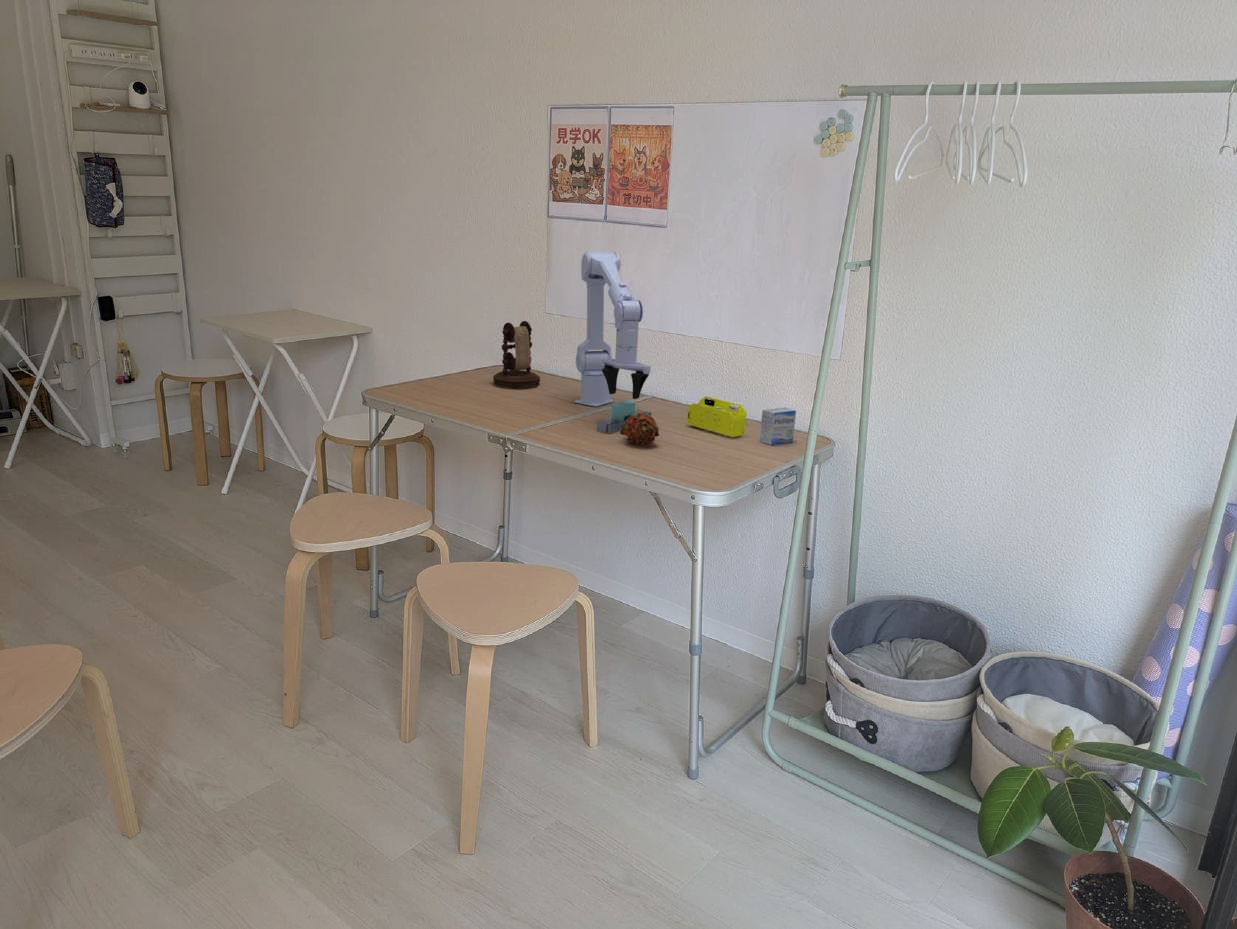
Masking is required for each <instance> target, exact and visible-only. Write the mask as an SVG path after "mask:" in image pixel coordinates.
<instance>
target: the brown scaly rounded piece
mask: <svg viewBox="0 0 1237 929" xmlns="http://www.w3.org/2000/svg"><path fill="white" fill-rule="evenodd" d="M624 425H625V428H623V429H620V431H619V434H620V436H621V435H623V436H626V437H627V441H628V442H629V443H630V444H634V445H635V444H637V445H640V446H647V445H648V444H650V443H651V444H652V443H654V441H655V440H656V438H657V437H659V436H660V432H659V431H660V430H659V426H658V425H657V422H656V420H655V418H653V417H652V416H651V417H650V415H648V414H644V413H638V414H637V415H636V416H635V417H633V416H632V417H629V418H628V419H627V420H626V422H625V424H624ZM624 425H622V426H624Z"/></svg>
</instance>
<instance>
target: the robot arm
mask: <svg viewBox="0 0 1237 929" xmlns="http://www.w3.org/2000/svg"><path fill="white" fill-rule="evenodd" d="M580 267H581V268H580V270H581V272H580V273H581V280H582V281H583V282H585V283H586V339H585V340H584V341H582V342H581V343H580V344H579V345H578V346H577V348H576V356H575V367H576V370H577V371H578V372H579V373H580V374H581V381H580V398H579V399H576V400H574V403H576V404H580V405H586V406H590V407H597V408H598V407H600V406H604V405H607V404H609V403H613V402H614V399H612V395H613V394H614V395H615V394H617V382H618V376H619V372H620V370H625V371H631V372H632V373H631V374H630V377H631V380H632V382H631V383H632V400H637V399H639V398H640V395H641V392H642V388H643V387H644V384H645V382H646V381H647V379H648V377H649V376H650V374H651V365H647V364H644V363H640V362H638V361H637V360H638V357H637V356H638V344H639V343H638V342H639V341H638V338H639V325H640V324H639V323H640V322H642V319H643V315H644V309H643V303H642V301H641V300H640V299H637V298H635V297H634V296H633V293H632V291H631V290H630V287H629V285H628V284H627V283H626V282H624V281H622V278H621V275H620V270H621V258H620V255H619V254H618V253H617V252H616V251H614V252H593V251H592V252H590V251H585V252H584V254H583V255H582V258H581V266H580ZM606 284H607V286H608V287H609V288H608V294H607V295H608V296H609V298H610V301H611V303H612V305H613V307H614V309H613V317H614V328H615V329H616V334H615V335H616V336H615V352H614V353H615V355H614V356H615V357H614V358H613V352H612V347H611V345H610V344H609V343H608V342H606V341H604V319H605V318H604V311H605V310H604V308H605V307H604V303H605V300H604V299H605V298H604V297H605V285H606Z"/></svg>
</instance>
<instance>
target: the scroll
mask: <svg viewBox="0 0 1237 929" xmlns="http://www.w3.org/2000/svg"><path fill="white" fill-rule="evenodd" d="M532 331H533V329H532V327H531V324H530V323H529V322H528V321H526V320H523V321H521V322H520V323H519V326H514V325H513V323H511V322H506V323H505V324H504V325H503V327H502V335H503V336H502V337H503V340H502V343H503V344H502V345H501V350H502V352H503V355H502V360H501V363H502V367H503V369H502V371H499V372H497V373H496V374H493V378H492V380H493V383H494V384H495V385H497V383H498V384H502V385H508V386H512V387H513V389H514V390H516V389H517V386H528V385H530V386H531V385H536V386H539V385H540V382H541V377H540V375H538V374H537V373H535V372H533V371H531V370H532V368H531V364H532V357H531V354H532V352H531V349H532V347H533V342H532V337H531V335H532ZM508 343H510V344H508ZM512 343H513V344H512ZM512 349H515V356H514V355H513V353H512V352H510V351H508V350H512Z"/></svg>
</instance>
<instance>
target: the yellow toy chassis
mask: <svg viewBox="0 0 1237 929" xmlns="http://www.w3.org/2000/svg"><path fill="white" fill-rule="evenodd" d="M746 420H747V411H746V409H745V408H744V407H743V405H742V404H739V403H735V402H730V401H728V400H727V401H726V400H723V399H718V398H715V397H711V396H710V397H709V396H707V395H705V396H703V397H702V398H701V399H699V403H696V402H694V403H692V404H690V405H688V406H687V418H686V425H688V426H691V427H696V428H697V429H700V430H701V429H702V430H703V429H704V430H705V431H711V432H712V433H717V434H721V435H724V436H725V435H726V436H725V437H729V436H730V437H729V438H731V437H732V438H736V437H740V436H741V435H745V431H746V423H747V422H746Z"/></svg>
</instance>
